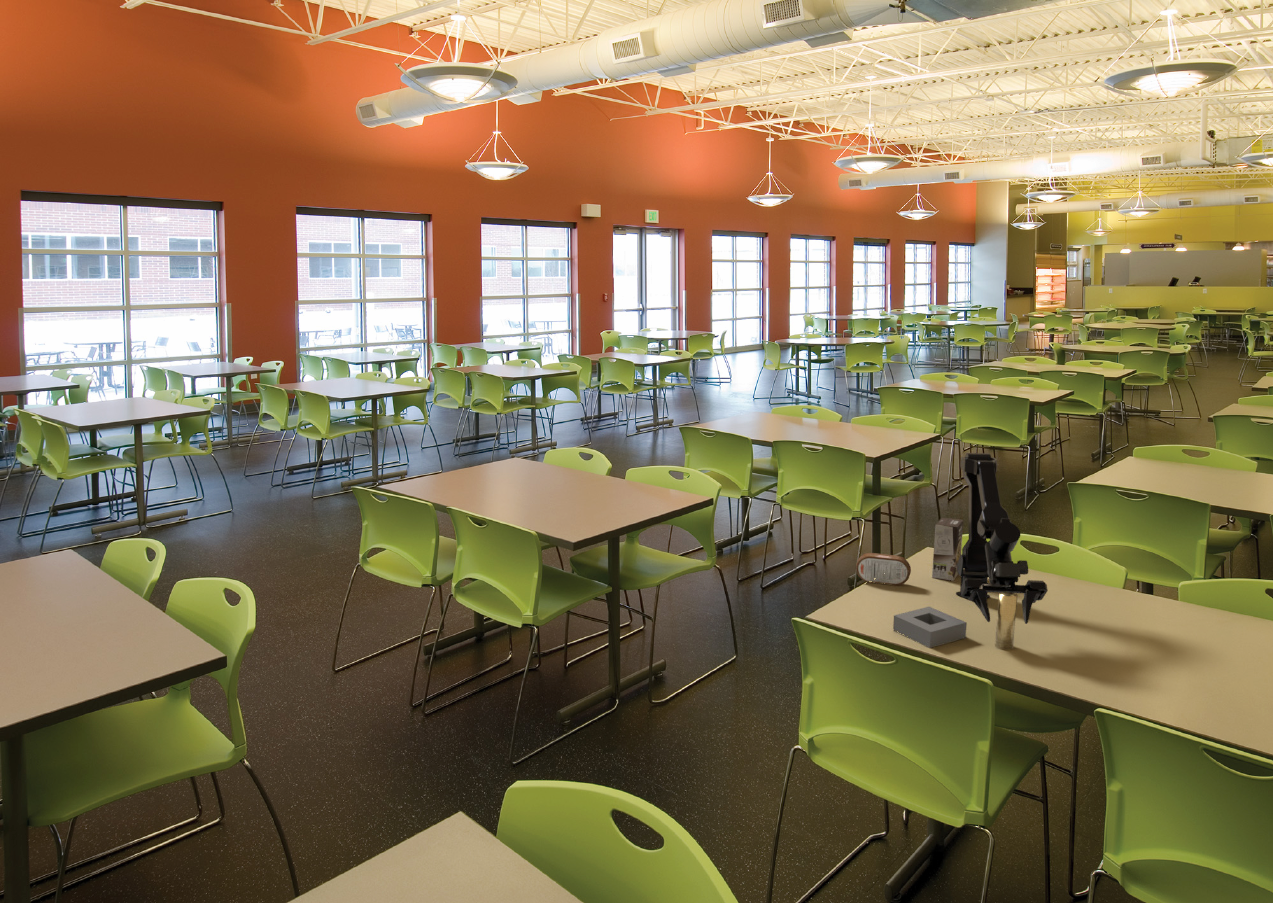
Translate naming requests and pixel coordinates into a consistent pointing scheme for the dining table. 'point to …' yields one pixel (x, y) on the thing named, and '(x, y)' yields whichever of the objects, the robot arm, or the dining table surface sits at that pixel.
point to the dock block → (930, 626)
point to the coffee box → (947, 548)
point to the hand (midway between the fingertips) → (1007, 622)
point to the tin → (883, 568)
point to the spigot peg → (1006, 620)
